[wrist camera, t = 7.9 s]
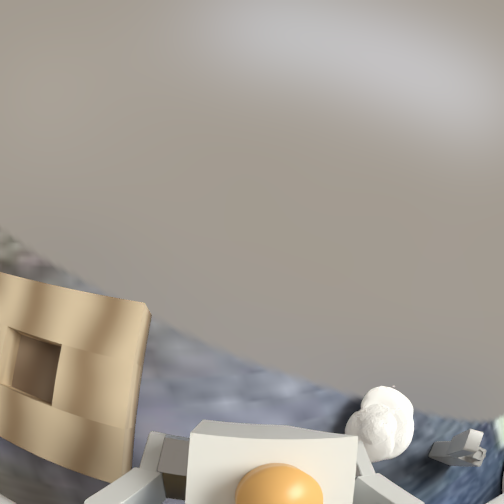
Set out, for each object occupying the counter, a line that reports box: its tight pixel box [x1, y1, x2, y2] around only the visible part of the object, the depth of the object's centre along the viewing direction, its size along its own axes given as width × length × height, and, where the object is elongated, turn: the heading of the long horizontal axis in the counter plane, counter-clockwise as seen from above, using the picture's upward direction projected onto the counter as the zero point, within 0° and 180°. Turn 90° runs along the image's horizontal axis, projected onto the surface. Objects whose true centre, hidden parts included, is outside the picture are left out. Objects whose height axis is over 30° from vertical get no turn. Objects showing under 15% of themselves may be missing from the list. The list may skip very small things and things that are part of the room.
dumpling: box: [345, 385, 414, 463], centre depth 20 cm, size 7×5×4 cm
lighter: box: [429, 429, 486, 467], centre depth 16 cm, size 7×2×8 cm, turn 57°
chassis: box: [0, 272, 152, 483], centre depth 18 cm, size 18×14×3 cm
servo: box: [185, 420, 358, 504], centre depth 8 cm, size 4×3×9 cm
